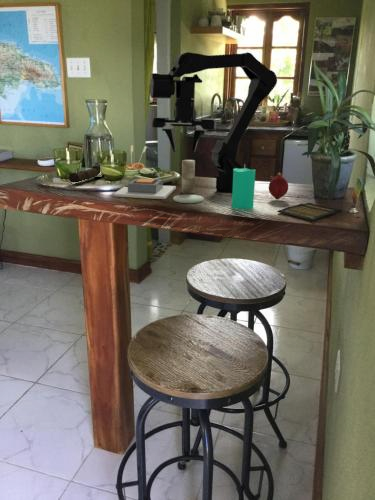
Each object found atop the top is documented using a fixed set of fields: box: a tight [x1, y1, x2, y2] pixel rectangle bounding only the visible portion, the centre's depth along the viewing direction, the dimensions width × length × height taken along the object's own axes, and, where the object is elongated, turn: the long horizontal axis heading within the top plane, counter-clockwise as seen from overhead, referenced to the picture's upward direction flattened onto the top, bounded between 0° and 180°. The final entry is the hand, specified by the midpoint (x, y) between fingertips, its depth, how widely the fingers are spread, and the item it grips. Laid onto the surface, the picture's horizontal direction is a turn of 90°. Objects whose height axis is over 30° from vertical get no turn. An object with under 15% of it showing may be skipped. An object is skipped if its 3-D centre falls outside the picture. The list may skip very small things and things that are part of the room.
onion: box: [268, 172, 289, 200], centre depth 134 cm, size 6×6×8 cm
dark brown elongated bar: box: [68, 164, 100, 182], centre depth 157 cm, size 19×4×5 cm, turn 154°
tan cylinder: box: [181, 159, 196, 195], centre depth 141 cm, size 4×4×10 cm
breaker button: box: [136, 178, 156, 184], centre depth 141 cm, size 5×5×1 cm
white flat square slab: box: [112, 178, 177, 200], centre depth 141 cm, size 16×16×3 cm
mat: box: [173, 194, 205, 204], centre depth 133 cm, size 9×9×1 cm
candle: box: [231, 164, 257, 210], centre depth 124 cm, size 6×6×12 cm
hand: (184, 152), depth 138 cm, fingers open, 6 cm apart
